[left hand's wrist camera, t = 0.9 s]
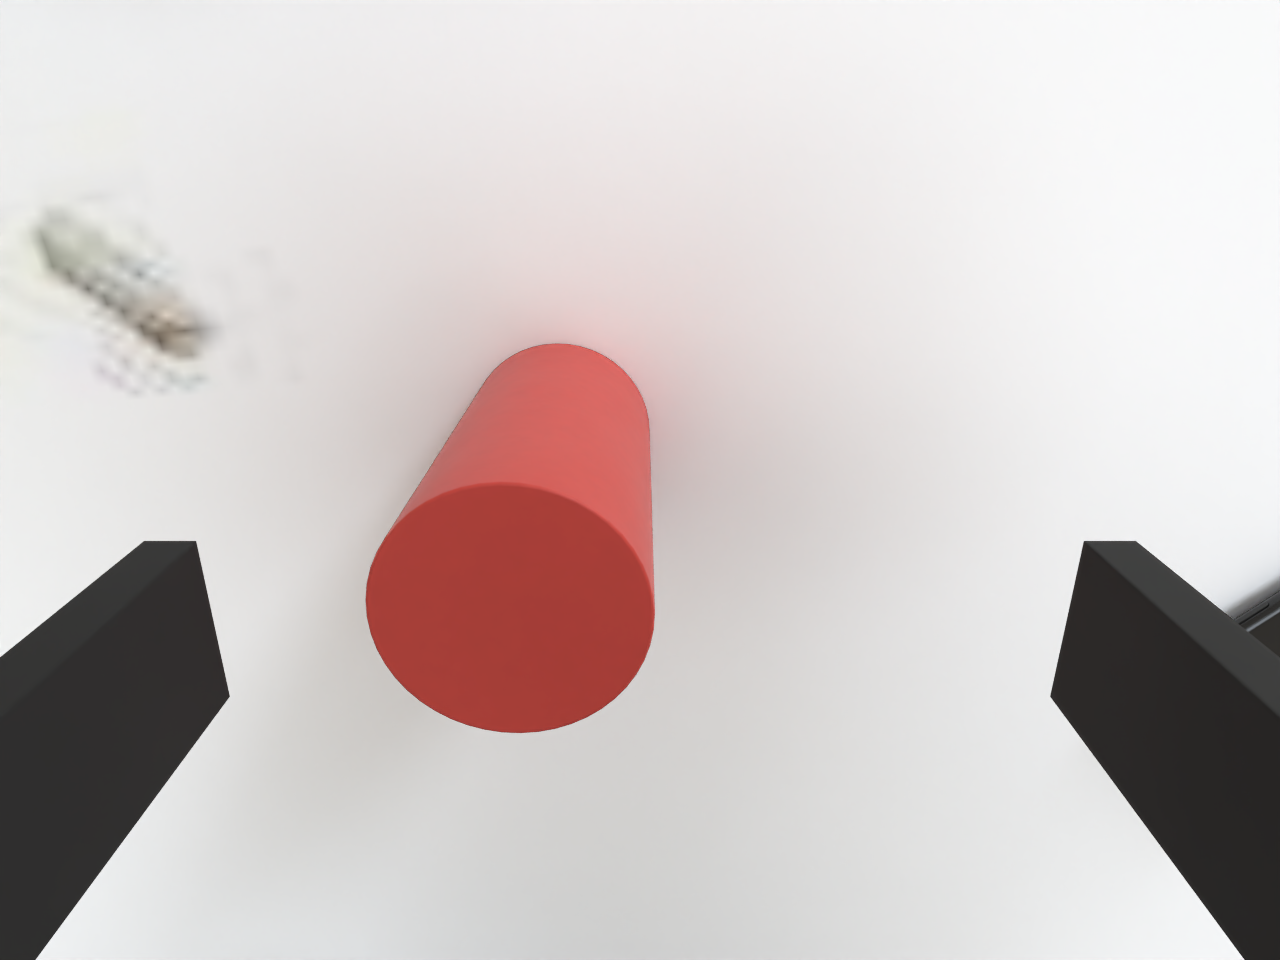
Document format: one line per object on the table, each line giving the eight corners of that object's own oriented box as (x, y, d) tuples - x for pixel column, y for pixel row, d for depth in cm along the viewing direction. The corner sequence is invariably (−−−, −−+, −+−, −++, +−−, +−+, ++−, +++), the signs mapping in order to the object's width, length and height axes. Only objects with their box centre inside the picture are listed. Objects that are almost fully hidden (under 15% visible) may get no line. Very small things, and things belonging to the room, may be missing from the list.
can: (588, 309, 28) (552, 428, 16) (681, 459, 30) (706, 659, 18) (436, 401, 29) (304, 572, 18) (536, 539, 31) (474, 774, 20)
